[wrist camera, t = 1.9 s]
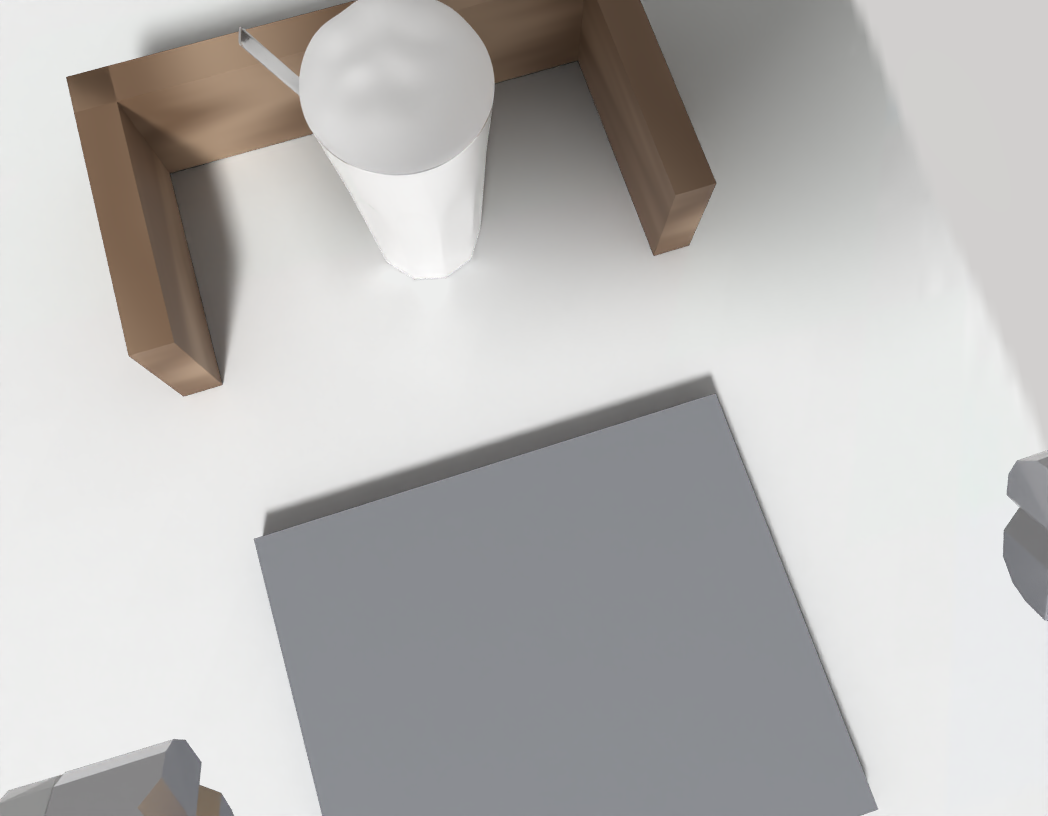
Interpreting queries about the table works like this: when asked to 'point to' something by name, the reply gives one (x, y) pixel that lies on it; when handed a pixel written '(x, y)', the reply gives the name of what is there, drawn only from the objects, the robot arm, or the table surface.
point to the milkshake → (401, 123)
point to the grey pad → (562, 640)
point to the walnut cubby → (276, 116)
